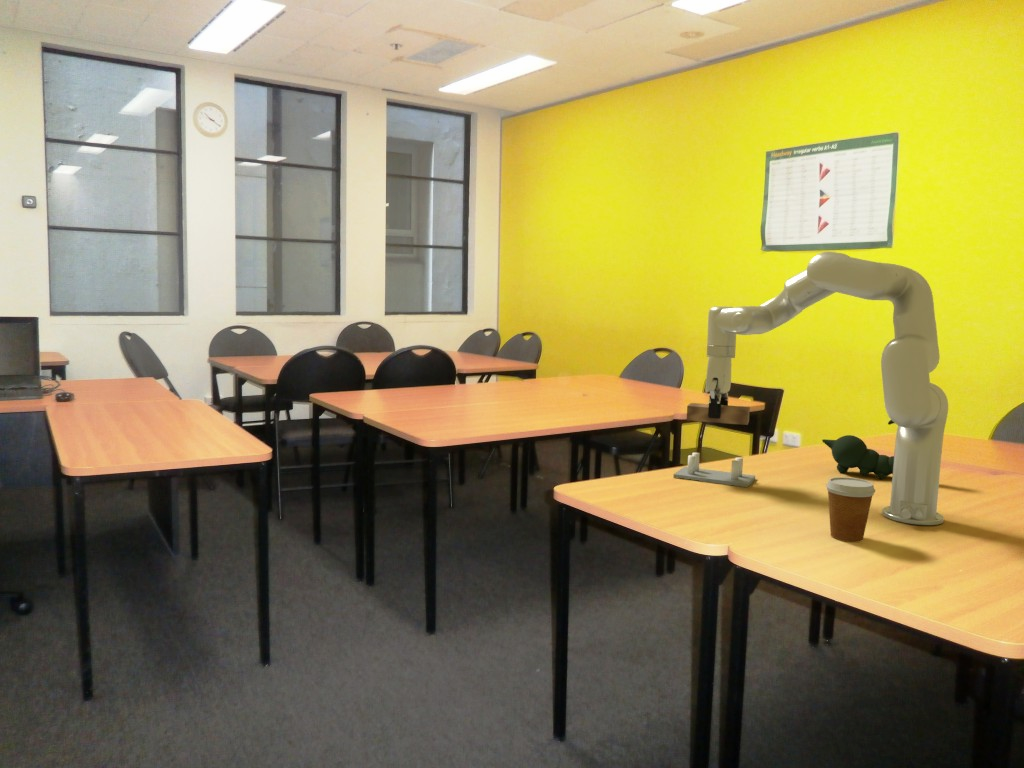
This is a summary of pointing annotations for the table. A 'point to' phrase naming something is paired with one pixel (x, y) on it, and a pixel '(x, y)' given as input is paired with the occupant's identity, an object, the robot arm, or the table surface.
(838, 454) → the toy figurine
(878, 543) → the table surface
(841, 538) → the disposable coffee cup
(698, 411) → the shelf plank
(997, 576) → the table surface
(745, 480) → the peg rack
